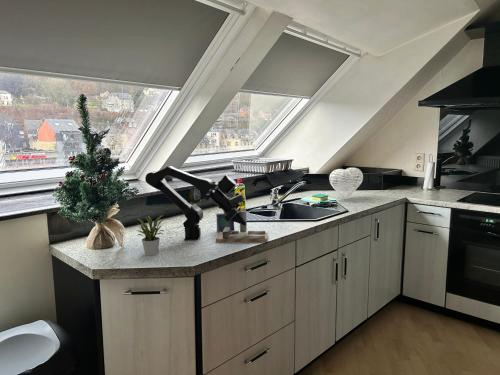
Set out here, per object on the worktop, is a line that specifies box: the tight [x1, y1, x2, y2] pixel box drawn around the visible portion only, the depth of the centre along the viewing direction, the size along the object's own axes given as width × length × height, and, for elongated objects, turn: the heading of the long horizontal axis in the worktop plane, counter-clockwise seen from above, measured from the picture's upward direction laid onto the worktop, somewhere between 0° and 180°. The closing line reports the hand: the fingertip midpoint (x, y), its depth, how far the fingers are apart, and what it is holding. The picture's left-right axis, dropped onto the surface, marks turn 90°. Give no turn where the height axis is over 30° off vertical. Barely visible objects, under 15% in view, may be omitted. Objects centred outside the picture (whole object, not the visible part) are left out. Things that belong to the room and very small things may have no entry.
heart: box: [328, 167, 364, 200], centre depth 272 cm, size 28×16×22 cm, turn 129°
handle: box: [238, 210, 249, 235], centre depth 176 cm, size 4×7×11 cm, turn 177°
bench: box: [215, 227, 269, 243], centre depth 177 cm, size 23×11×4 cm, turn 86°
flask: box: [216, 210, 235, 233], centre depth 191 cm, size 9×3×11 cm, turn 72°
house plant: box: [136, 214, 166, 256], centre depth 158 cm, size 14×14×16 cm
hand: (246, 223), depth 176 cm, fingers closed on handle, 3 cm apart
